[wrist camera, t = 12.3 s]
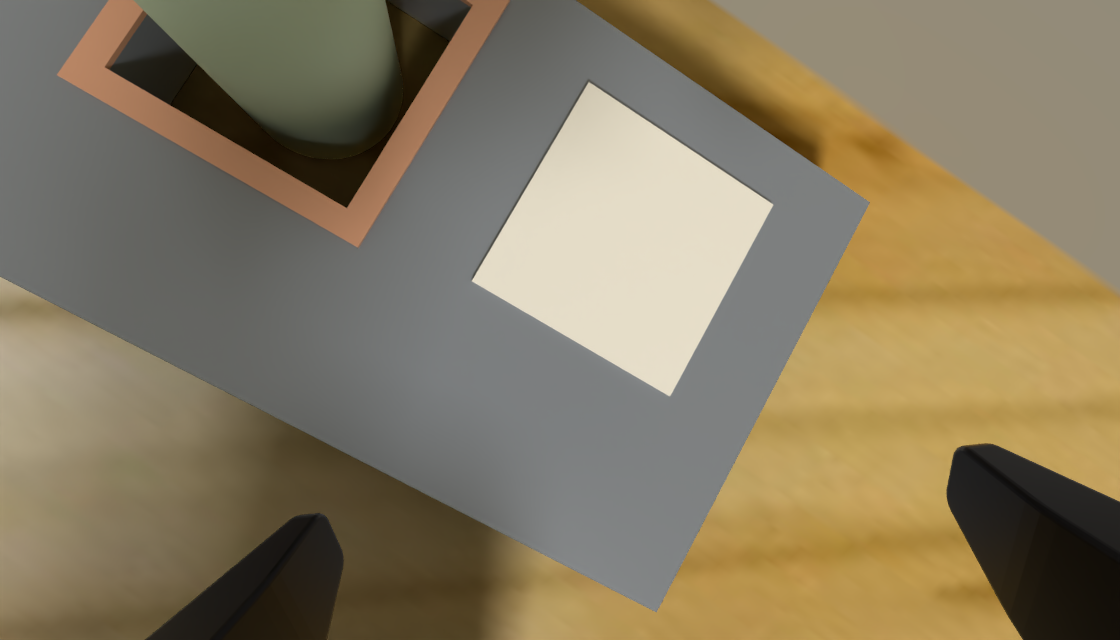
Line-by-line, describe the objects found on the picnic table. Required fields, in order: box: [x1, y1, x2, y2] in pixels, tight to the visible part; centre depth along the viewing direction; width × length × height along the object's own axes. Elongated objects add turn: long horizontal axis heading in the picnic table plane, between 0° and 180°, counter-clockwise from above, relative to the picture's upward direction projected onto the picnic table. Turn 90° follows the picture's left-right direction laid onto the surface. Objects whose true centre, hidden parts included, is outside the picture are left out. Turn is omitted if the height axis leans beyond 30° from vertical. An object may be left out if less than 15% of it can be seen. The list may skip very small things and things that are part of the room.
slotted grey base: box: [0, 0, 870, 612], centre depth 18 cm, size 24×15×3 cm, turn 60°
